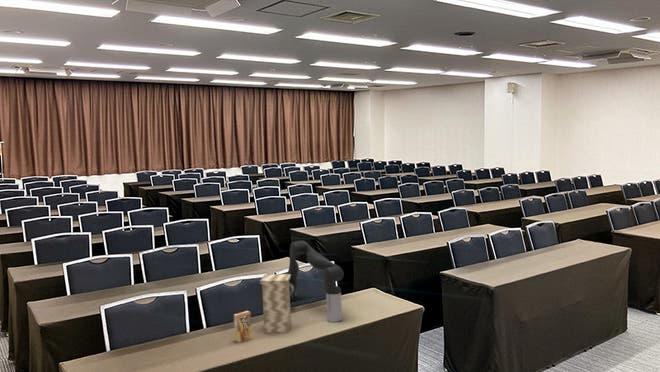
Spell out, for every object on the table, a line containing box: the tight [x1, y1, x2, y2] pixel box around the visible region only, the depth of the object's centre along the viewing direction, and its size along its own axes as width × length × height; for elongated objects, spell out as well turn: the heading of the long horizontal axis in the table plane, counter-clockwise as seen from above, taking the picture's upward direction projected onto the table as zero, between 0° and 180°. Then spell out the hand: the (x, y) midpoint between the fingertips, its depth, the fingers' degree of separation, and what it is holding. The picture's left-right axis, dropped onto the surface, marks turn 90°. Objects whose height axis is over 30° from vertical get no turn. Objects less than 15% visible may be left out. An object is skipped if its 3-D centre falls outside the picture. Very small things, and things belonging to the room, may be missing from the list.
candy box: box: [233, 310, 253, 343], centre depth 285 cm, size 9×4×15 cm, turn 129°
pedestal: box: [259, 273, 292, 334], centre depth 299 cm, size 16×14×31 cm
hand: (283, 297), depth 325 cm, fingers open, 8 cm apart
